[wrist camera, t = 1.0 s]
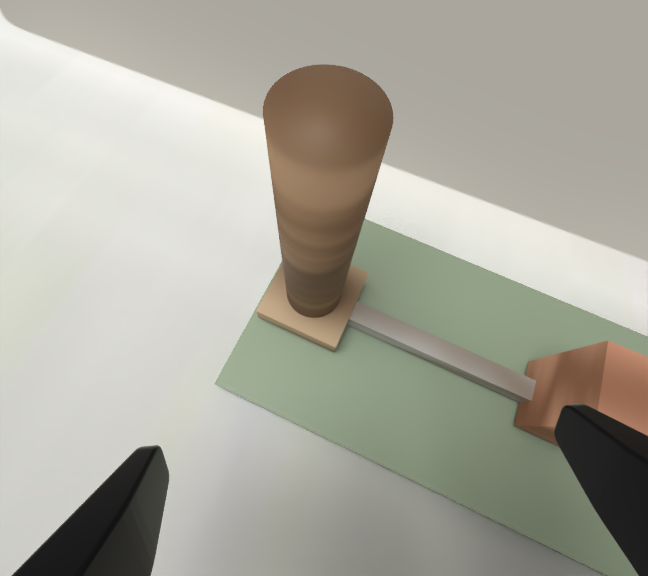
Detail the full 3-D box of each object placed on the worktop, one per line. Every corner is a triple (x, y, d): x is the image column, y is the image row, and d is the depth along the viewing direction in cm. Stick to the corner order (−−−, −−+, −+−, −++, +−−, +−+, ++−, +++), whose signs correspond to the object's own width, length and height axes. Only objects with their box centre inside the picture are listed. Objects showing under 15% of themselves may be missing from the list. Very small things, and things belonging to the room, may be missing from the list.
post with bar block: (572, 462, 20) (1156, 553, 6) (258, 317, 22) (184, 146, 8) (586, 378, 21) (1069, 305, 8) (294, 251, 23) (283, 18, 10)
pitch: (914, 725, 18) (1372, 953, 10) (218, 385, 21) (172, 366, 14) (880, 443, 22) (1172, 454, 15) (315, 206, 26) (320, 120, 19)
